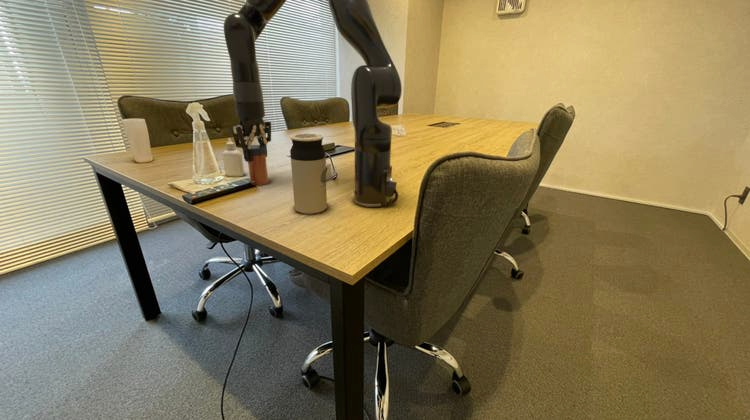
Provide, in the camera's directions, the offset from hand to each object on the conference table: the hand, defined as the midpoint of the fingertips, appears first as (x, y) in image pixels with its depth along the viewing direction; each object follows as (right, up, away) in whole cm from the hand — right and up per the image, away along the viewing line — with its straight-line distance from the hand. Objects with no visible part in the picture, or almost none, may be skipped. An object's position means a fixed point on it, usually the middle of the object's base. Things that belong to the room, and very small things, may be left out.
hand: (256, 159), depth 91 cm
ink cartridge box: (+17, -7, +6) cm, 19 cm away
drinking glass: (-50, +3, +22) cm, 55 cm away
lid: (0, +3, -1) cm, 3 cm away
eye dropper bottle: (-11, -4, +9) cm, 15 cm away
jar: (0, -7, +3) cm, 8 cm away
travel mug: (+19, -15, -14) cm, 28 cm away
